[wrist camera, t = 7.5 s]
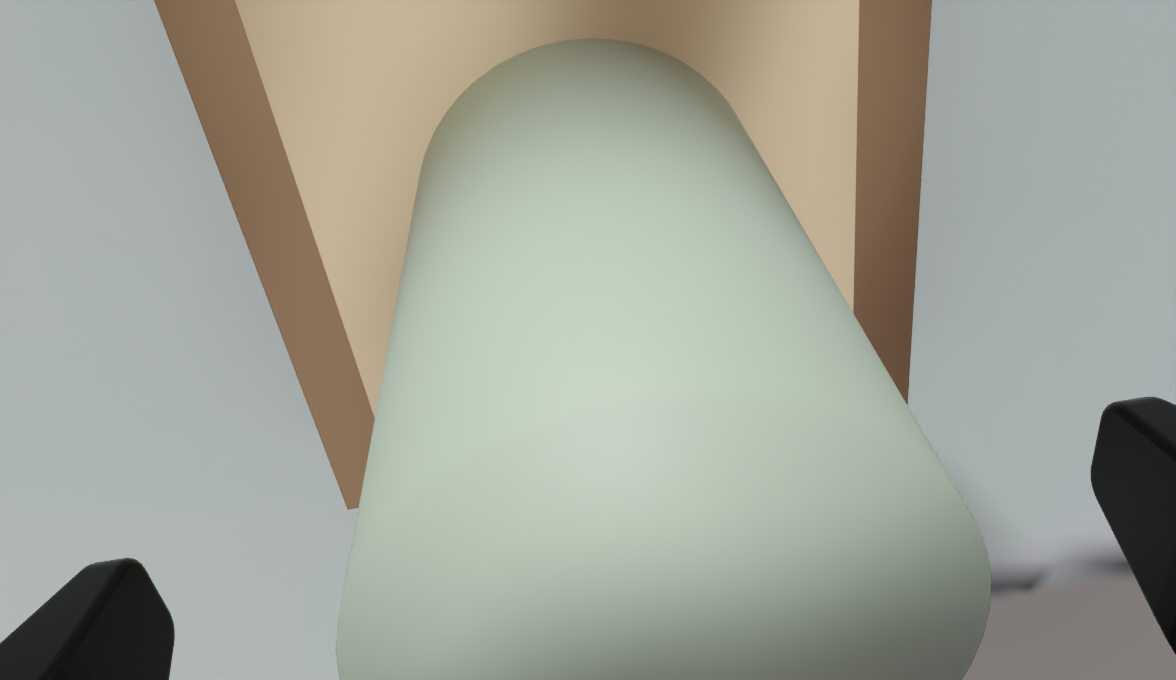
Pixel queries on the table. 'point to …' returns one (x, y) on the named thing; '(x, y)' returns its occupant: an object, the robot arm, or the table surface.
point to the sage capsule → (638, 414)
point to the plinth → (457, 59)
